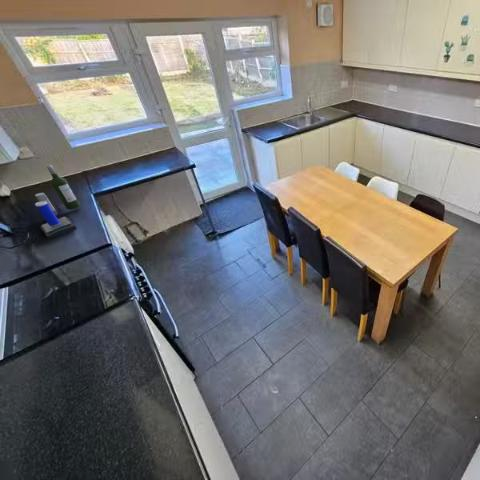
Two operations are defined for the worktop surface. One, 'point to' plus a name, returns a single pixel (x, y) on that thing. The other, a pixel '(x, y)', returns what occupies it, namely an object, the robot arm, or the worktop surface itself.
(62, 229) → the scale
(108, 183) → the worktop surface
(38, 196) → the container
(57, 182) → the wine bottle
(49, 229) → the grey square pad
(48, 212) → the beverage can
